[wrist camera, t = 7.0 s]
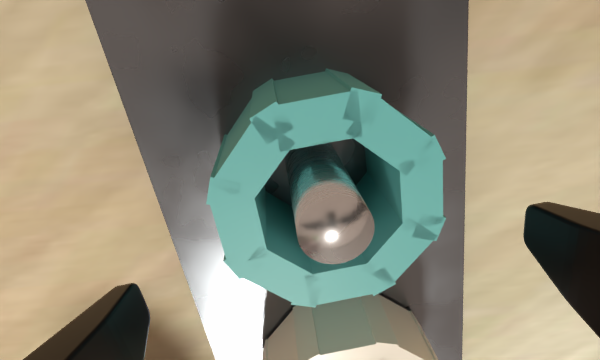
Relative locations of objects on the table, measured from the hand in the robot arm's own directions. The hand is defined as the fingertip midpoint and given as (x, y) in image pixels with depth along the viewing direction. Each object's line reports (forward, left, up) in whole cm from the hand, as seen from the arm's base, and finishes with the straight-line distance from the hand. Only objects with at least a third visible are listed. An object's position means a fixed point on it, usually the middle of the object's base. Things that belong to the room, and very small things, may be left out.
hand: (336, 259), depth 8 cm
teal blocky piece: (0, 0, -6) cm, 6 cm away
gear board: (0, +4, -7) cm, 8 cm away
